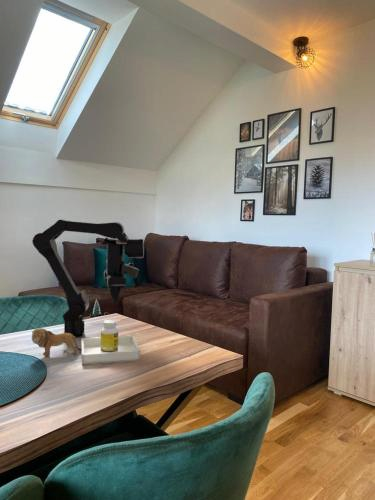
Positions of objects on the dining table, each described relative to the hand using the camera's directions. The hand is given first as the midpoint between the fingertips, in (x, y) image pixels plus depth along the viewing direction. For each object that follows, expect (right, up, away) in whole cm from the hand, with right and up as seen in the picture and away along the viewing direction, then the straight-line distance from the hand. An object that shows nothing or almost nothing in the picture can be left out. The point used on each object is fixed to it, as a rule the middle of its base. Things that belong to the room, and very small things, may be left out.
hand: (114, 300), depth 136 cm
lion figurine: (-14, -15, -20) cm, 28 cm away
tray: (+2, -15, -17) cm, 22 cm away
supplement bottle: (+2, -14, -17) cm, 22 cm away
